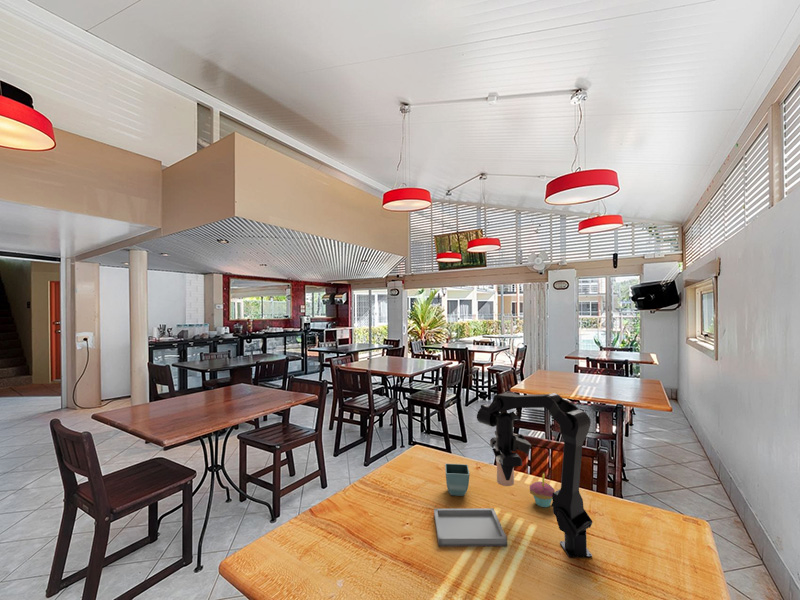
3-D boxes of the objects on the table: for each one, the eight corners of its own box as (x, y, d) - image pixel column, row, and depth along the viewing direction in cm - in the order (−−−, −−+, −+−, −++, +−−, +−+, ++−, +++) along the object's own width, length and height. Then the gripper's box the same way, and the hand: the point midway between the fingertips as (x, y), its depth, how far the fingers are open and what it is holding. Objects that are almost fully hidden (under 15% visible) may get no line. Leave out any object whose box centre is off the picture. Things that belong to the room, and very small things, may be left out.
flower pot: (468, 487, 142) (467, 464, 142) (470, 499, 133) (469, 474, 133) (445, 486, 142) (445, 463, 143) (445, 498, 134) (445, 473, 134)
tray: (507, 546, 107) (507, 538, 107) (438, 546, 107) (438, 538, 107) (493, 515, 123) (493, 508, 123) (434, 515, 123) (434, 508, 123)
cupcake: (559, 510, 125) (558, 475, 125) (534, 510, 125) (533, 475, 125) (549, 497, 134) (549, 464, 134) (526, 497, 134) (525, 464, 134)
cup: (516, 486, 122) (516, 462, 122) (498, 486, 122) (498, 462, 122) (511, 478, 128) (511, 455, 128) (494, 478, 128) (494, 455, 128)
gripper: (537, 440, 116) (538, 489, 115) (519, 421, 134) (520, 464, 134) (502, 440, 116) (503, 489, 116) (489, 421, 135) (490, 464, 134)
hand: (505, 476), depth 125 cm, fingers closed on cup, 6 cm apart
